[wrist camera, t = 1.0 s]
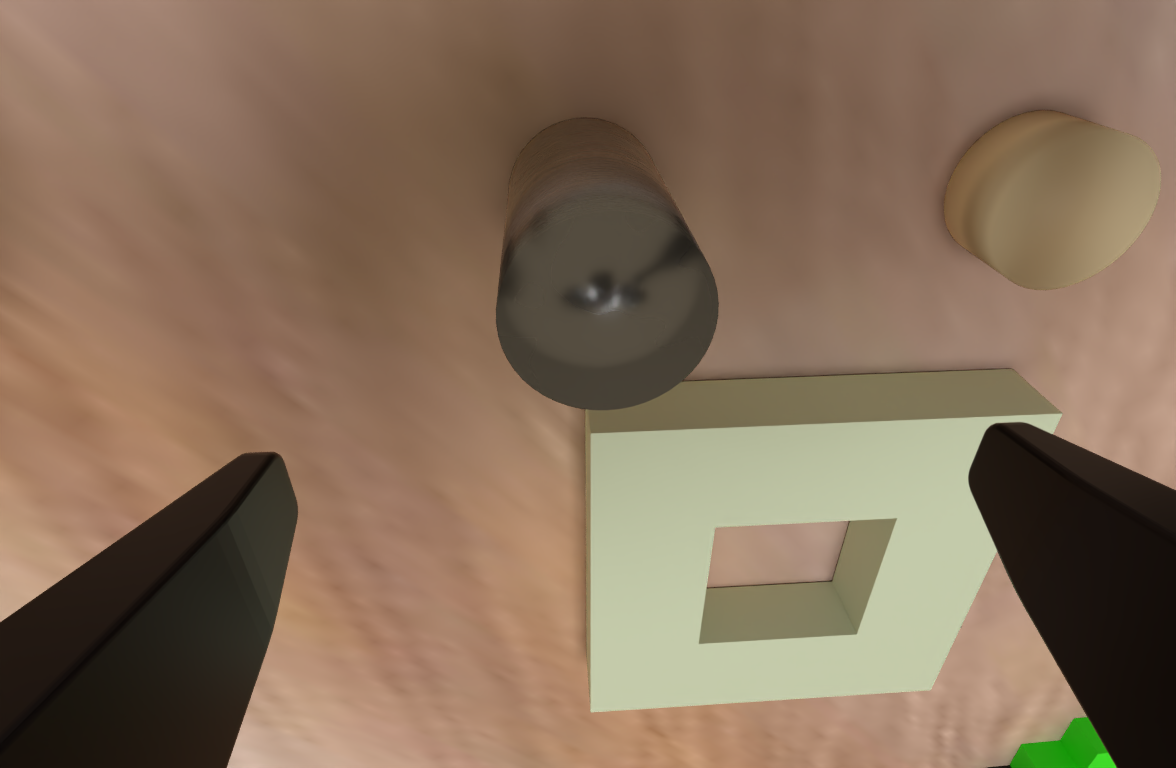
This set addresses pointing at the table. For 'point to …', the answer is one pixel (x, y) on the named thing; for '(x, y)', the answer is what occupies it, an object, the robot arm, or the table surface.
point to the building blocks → (1065, 750)
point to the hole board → (786, 496)
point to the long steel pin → (599, 272)
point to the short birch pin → (1051, 198)
